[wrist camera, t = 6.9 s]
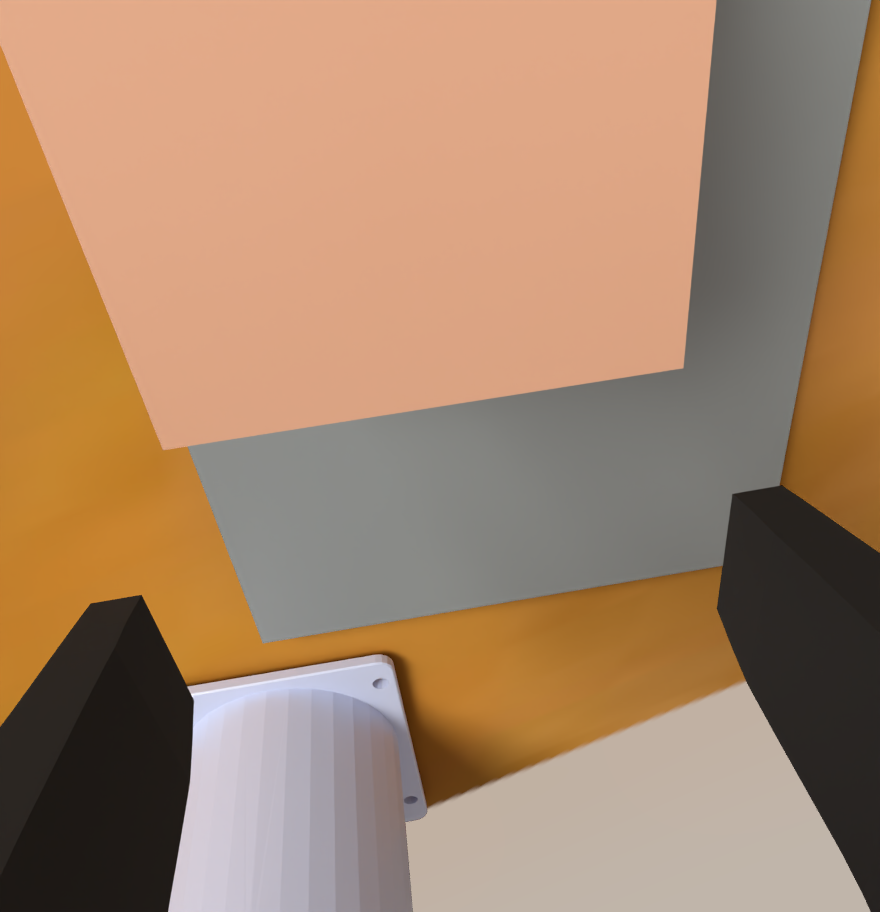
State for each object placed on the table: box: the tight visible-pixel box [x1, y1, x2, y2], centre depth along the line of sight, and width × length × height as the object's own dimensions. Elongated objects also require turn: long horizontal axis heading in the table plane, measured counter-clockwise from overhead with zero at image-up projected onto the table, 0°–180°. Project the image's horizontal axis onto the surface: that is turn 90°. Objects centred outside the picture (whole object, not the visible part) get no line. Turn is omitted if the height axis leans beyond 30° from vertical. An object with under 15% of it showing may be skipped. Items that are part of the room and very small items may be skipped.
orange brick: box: [0, 0, 716, 450], centre depth 8 cm, size 5×5×4 cm
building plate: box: [188, 0, 871, 643], centre depth 18 cm, size 20×15×1 cm
